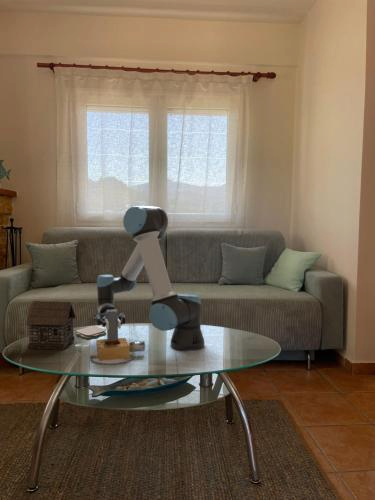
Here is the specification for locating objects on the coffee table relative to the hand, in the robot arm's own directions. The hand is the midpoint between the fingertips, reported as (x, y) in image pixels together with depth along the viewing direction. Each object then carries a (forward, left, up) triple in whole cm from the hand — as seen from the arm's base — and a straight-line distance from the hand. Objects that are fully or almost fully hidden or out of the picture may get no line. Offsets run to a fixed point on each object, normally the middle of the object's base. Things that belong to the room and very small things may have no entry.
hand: (113, 325), depth 167 cm
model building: (+36, -14, -15) cm, 41 cm away
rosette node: (+1, -6, -15) cm, 16 cm away
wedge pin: (+3, -5, -7) cm, 9 cm away
